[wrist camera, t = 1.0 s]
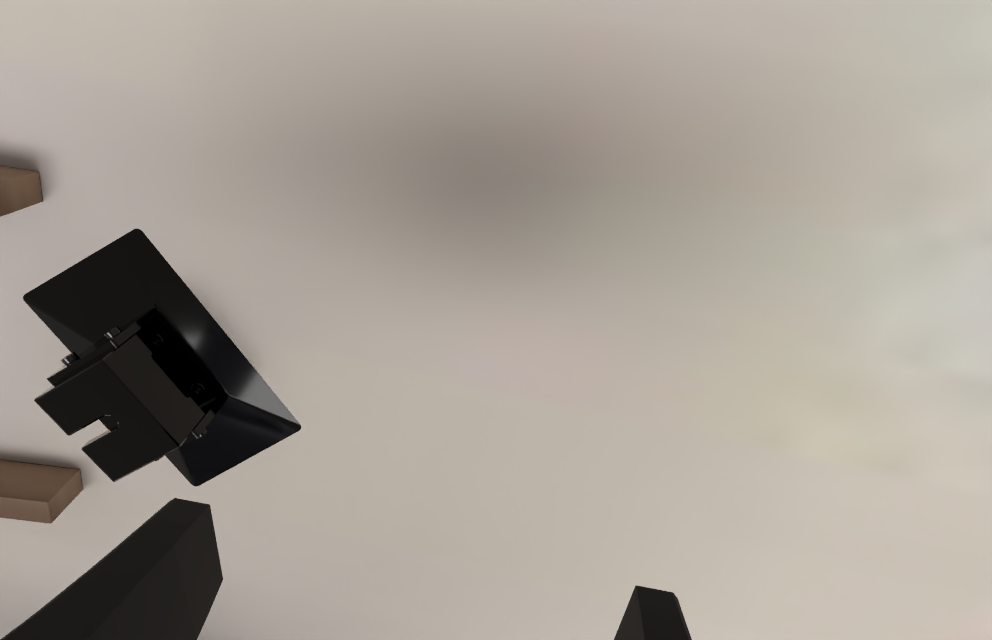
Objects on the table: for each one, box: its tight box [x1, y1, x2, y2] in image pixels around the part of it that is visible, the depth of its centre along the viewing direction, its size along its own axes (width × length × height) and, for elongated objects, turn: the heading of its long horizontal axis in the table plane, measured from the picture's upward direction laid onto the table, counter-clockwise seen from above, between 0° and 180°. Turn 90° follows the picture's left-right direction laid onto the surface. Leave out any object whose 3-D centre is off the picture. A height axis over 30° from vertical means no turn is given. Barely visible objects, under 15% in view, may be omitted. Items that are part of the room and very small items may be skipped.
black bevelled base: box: [23, 229, 301, 486], centre depth 22 cm, size 12×7×5 cm, turn 30°
